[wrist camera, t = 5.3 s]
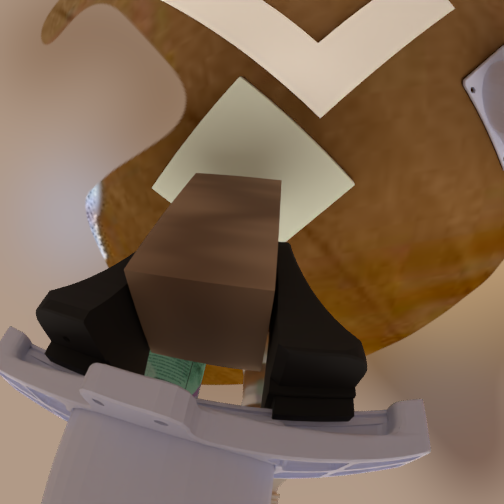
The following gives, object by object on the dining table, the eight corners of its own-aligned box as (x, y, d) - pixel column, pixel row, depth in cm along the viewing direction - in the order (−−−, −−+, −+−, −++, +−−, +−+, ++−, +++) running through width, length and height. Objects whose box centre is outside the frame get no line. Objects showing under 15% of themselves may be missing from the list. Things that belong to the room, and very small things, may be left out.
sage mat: (352, 180, 20) (354, 184, 19) (255, 261, 25) (254, 266, 24) (241, 76, 16) (239, 76, 15) (155, 184, 22) (151, 188, 21)
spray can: (168, 283, 28) (95, 468, 12) (180, 245, 25) (85, 465, 9) (216, 303, 29) (168, 494, 13) (235, 268, 26) (181, 499, 10)
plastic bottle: (234, 334, 32) (202, 501, 16) (283, 316, 29) (267, 510, 13) (264, 359, 35) (246, 507, 19) (311, 345, 32) (306, 510, 16)
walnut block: (281, 180, 14) (274, 290, 8) (272, 251, 17) (260, 371, 10) (195, 172, 14) (123, 269, 8) (198, 242, 17) (151, 352, 10)
